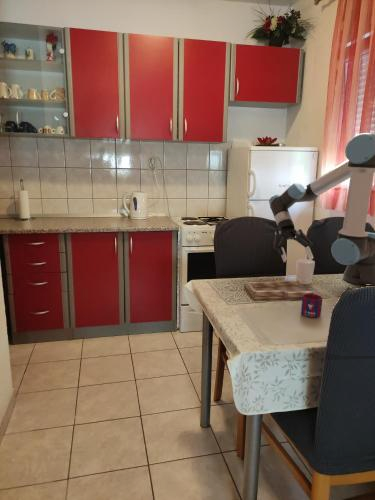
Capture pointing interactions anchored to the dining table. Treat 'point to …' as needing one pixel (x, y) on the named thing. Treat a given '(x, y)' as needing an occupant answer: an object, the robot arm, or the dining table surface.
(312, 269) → the white cup
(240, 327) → the dining table surface
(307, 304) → the mug
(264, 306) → the dining table surface
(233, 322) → the dining table surface
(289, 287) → the wooden tray
